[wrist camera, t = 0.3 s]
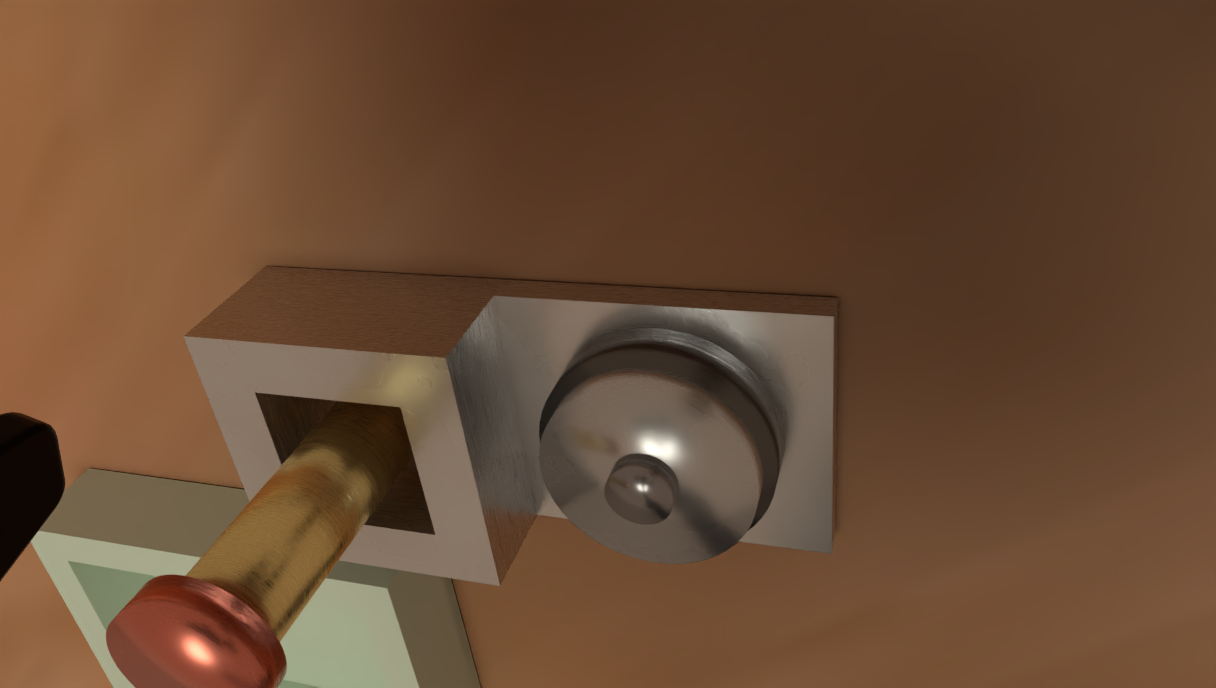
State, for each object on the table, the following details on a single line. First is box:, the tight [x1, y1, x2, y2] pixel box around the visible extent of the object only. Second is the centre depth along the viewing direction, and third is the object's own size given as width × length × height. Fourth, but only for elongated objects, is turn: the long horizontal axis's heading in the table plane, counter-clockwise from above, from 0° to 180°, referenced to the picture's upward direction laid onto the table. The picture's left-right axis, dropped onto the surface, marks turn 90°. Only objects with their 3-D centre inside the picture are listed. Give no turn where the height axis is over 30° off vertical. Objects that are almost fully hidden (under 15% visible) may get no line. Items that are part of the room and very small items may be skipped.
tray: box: [31, 468, 481, 688], centre depth 34 cm, size 10×13×3 cm
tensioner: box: [184, 266, 838, 586], centre depth 25 cm, size 7×15×4 cm, turn 96°
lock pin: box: [106, 401, 413, 688], centre depth 24 cm, size 3×3×10 cm
